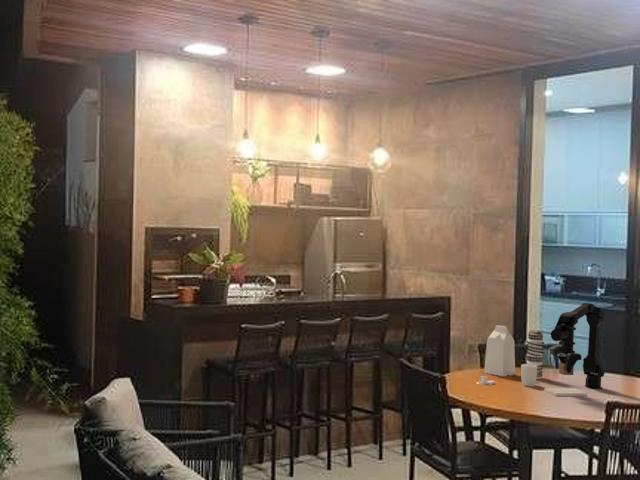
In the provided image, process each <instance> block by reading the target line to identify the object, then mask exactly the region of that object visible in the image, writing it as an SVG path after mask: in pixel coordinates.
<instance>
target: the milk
mask: <svg viewBox="0 0 640 480" xmlns="http://www.w3.org/2000/svg"><path fill="white" fill-rule="evenodd" d="M486 339H487V340H486V349H485V350H486V351H485V360H484V361H485V362H484V370H483V373H484V374H487V373H488V374H487V375H492V374H493V376H497V375H498V377H507V375H509V376H513V374H514V375H516V360H515V358H516V357H515V356H516V355H515V350H516V349H515V339H514V338H513V336H512V335H511V333H510V332H509V329H508V327H507V326H506V325H497V324H496V325H495V327H494V329H493V331H492V332H491V333H490V334H489V336H488V338H486Z"/></svg>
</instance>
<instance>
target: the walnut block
mask: <svg viewBox="0 0 640 480" xmlns="http://www.w3.org/2000/svg"><path fill="white" fill-rule="evenodd" d="M558 373H559V374H560V375H563V376H574V367H573V368H572V370H571V372H570V373H568V372H567V363H560V362H558Z"/></svg>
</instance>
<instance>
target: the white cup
mask: <svg viewBox="0 0 640 480" xmlns="http://www.w3.org/2000/svg"><path fill="white" fill-rule="evenodd" d="M520 371H521V375H520V376H521V377H520V378H521V385H522V386H525V387H535V386H536V382H537V379H536V376H537V365H532V364H527V363H523V364H521V365H520Z"/></svg>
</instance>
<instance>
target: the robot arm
mask: <svg viewBox="0 0 640 480" xmlns="http://www.w3.org/2000/svg"><path fill="white" fill-rule="evenodd" d="M584 316H586V317H585V318H586V322H587V324H588V326H589V329H588V344H587V345H588V346H587V355H586V357H584V358H583V359H582V357H583V356H582V354H580V353H578V352H576V351H575V350H574V345H576V342H575V339H574V338H575V331H576V330H577V328H576V326H575V325H577V324H578V322H579V320H580V319H581V318H583V317H584ZM605 316H606V314H605V311H604V310H603V309H601V308H599V307H597V306H596V305H595V304H593V303H592V302H591V303H589V302H583V303H582V304H581V305H579V306H578V307H577V308H575V309H573V310H571V311H566V312H562V313H561V314H560V315H559V317H558V319H557V322H556V323H555V324H556V325H555V326H554V329H552V331H551V332H550V338H551V339H552V340H553V341H555V342H558V344H554V345H552V346H550V347H548V350H549V353H550V355H552V356H555V357H556V358H557V359H558V360H559V363H567V372H568V373H570V372H571V370H572V368H573V367H574V366H575V365H576V363H577V362H578V361H582V360H583V361H582V370H583V374H584V375H586V377H585V384H584V387H586V388H589V389H603V387H602V378H604V377H605V370H604V368H603V366H602V360H601V359H600V357H599V349H600V348H599V344H600V328H601V325H603V323H604V321H605Z"/></svg>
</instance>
